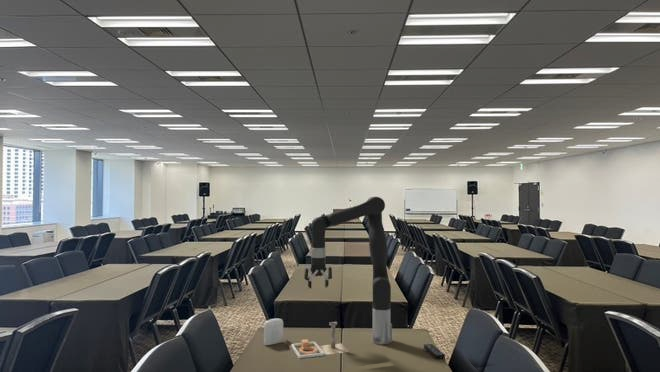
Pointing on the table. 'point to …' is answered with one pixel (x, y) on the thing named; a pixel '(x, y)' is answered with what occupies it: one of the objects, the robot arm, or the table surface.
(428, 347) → the multiport hub
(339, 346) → the stake board
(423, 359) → the table surface
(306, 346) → the terracotta ring
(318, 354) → the white tray
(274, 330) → the photo printer
